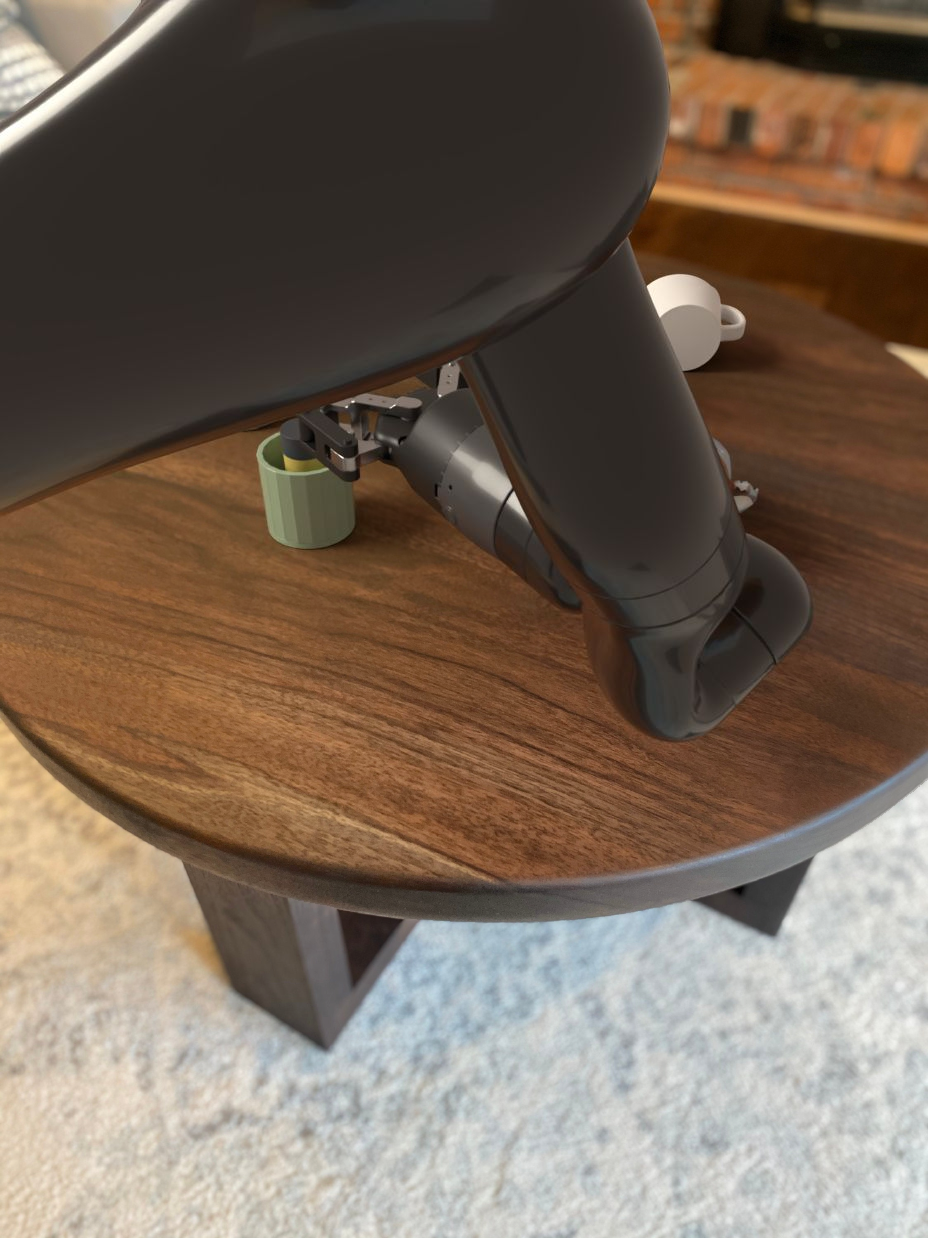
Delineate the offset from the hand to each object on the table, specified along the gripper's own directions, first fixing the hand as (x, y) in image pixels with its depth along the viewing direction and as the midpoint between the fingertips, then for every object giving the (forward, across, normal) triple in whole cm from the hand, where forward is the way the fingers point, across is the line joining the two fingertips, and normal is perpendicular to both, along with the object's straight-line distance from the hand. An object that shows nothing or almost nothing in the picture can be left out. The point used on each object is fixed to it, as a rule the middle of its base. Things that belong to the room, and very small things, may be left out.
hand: (359, 370), depth 65 cm
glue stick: (+11, 0, +19) cm, 22 cm away
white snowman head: (-6, -26, +19) cm, 33 cm away
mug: (+18, -53, +19) cm, 59 cm away
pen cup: (+11, 0, +19) cm, 22 cm away
